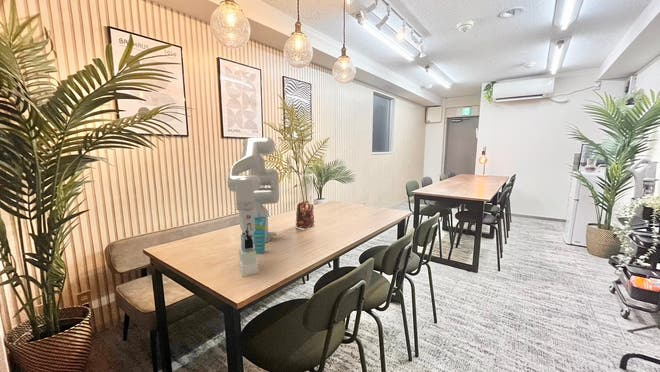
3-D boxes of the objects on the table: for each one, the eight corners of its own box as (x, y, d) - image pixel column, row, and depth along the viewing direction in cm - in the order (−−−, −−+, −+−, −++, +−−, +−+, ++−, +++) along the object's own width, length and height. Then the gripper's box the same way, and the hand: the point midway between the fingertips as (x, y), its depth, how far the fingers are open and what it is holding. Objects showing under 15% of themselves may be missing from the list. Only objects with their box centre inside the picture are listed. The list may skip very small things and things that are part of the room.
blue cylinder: (252, 245, 123) (251, 232, 122) (254, 248, 118) (254, 235, 118) (240, 247, 120) (239, 234, 120) (242, 250, 116) (241, 237, 115)
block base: (254, 267, 125) (254, 256, 125) (258, 273, 119) (258, 262, 119) (239, 270, 122) (238, 259, 121) (242, 276, 116) (241, 265, 115)
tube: (252, 254, 140) (250, 218, 137) (253, 251, 145) (251, 216, 142) (267, 253, 142) (265, 217, 139) (267, 249, 146) (265, 215, 144)
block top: (253, 257, 124) (252, 247, 123) (256, 262, 119) (255, 251, 118) (239, 260, 121) (239, 249, 120) (242, 265, 116) (241, 253, 115)
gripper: (259, 208, 111) (261, 250, 114) (250, 201, 126) (251, 239, 129) (240, 210, 108) (242, 254, 110) (233, 203, 123) (235, 241, 125)
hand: (247, 245), depth 119 cm, fingers closed on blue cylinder, 5 cm apart
